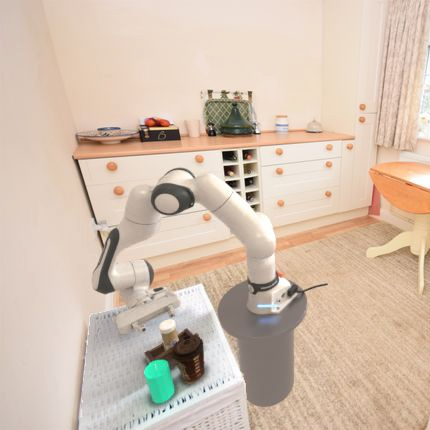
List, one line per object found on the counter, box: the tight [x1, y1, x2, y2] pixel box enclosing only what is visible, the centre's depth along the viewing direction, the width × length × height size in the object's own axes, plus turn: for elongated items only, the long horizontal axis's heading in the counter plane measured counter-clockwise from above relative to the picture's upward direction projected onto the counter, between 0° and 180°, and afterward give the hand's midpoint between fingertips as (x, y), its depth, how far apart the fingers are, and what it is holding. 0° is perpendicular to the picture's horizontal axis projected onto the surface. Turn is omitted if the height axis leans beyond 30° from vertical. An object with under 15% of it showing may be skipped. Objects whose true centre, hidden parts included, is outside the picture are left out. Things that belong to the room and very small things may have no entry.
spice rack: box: [143, 328, 200, 371], centre depth 95 cm, size 14×9×7 cm, turn 139°
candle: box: [143, 360, 176, 404], centre depth 82 cm, size 6×6×12 cm
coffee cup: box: [172, 334, 206, 385], centre depth 88 cm, size 9×8×13 cm
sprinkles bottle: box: [158, 318, 179, 351], centre depth 94 cm, size 5×5×14 cm
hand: (158, 322), depth 99 cm, fingers open, 8 cm apart
